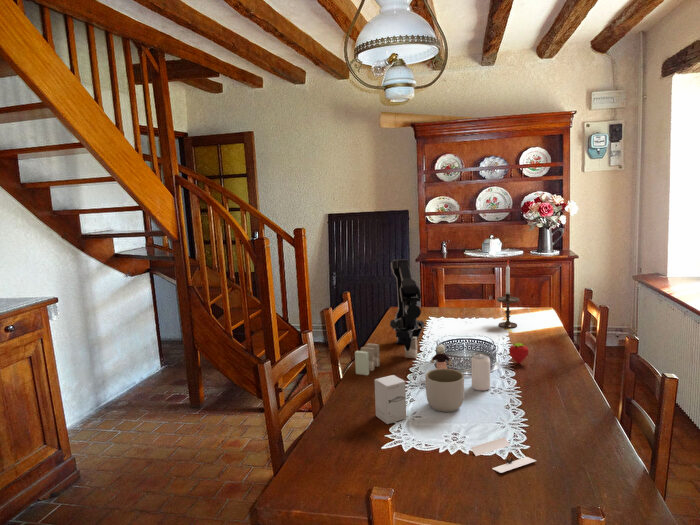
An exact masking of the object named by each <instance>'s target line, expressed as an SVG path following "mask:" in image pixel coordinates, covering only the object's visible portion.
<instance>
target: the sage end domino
mask: <svg viewBox="0 0 700 525" xmlns="http://www.w3.org/2000/svg"><path fill="white" fill-rule="evenodd" d="M354 363H355V374H356V375H360V376H361V375H363V376H369V374H370V371H369V358H368V352H365V351H361V350H355V352H354Z"/></svg>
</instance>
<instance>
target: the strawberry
mask: <svg viewBox="0 0 700 525" xmlns="http://www.w3.org/2000/svg"><path fill="white" fill-rule="evenodd" d="M508 351H509V355H510V356H511V358H512V359H513V361H515V363H517V364H521V363H522V362H523V361H524V360H525V359H526V358H527V357H528V356H529V355H528V354H529V352H530V351H529V348H528V347H527V346H526V344H524V343H522V342H521V343H519V342H516V343H511V346H510V347H509V349H508Z"/></svg>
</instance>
